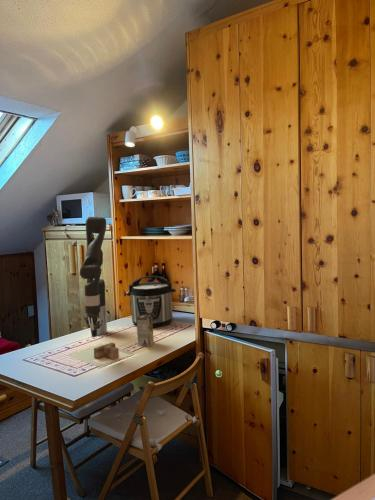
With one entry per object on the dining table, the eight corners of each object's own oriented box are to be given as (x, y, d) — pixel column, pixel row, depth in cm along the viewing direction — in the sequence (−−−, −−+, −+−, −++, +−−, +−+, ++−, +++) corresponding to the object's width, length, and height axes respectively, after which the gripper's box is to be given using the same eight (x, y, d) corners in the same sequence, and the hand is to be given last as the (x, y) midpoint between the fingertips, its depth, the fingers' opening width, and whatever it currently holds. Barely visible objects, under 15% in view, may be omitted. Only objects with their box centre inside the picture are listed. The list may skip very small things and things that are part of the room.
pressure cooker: (120, 326, 249) (118, 278, 246) (145, 316, 273) (143, 272, 271) (158, 331, 234) (156, 280, 232) (182, 320, 258) (180, 273, 256)
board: (66, 357, 195) (66, 355, 195) (101, 345, 211) (101, 343, 211) (99, 368, 177) (98, 366, 177) (134, 354, 194) (134, 352, 194)
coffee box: (143, 342, 214) (141, 314, 213) (153, 342, 213) (152, 314, 211) (137, 347, 205) (136, 318, 204) (149, 348, 204) (147, 318, 202)
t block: (94, 358, 189) (93, 348, 188) (112, 351, 197) (111, 342, 196) (106, 362, 182) (106, 352, 182) (124, 355, 190) (124, 346, 190)
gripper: (78, 303, 196) (80, 336, 198) (94, 306, 187) (96, 341, 189) (90, 300, 202) (92, 332, 203) (106, 303, 193) (108, 337, 195)
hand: (94, 336), depth 196 cm, fingers closed
